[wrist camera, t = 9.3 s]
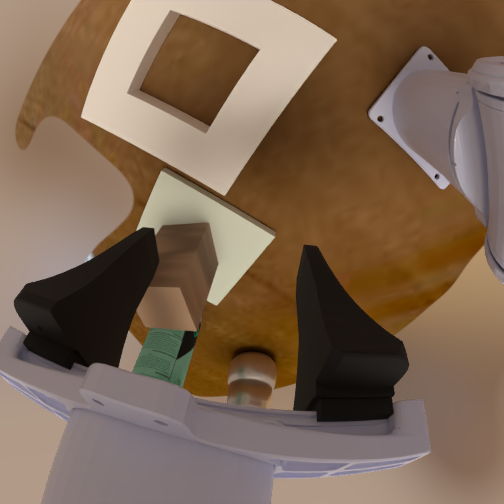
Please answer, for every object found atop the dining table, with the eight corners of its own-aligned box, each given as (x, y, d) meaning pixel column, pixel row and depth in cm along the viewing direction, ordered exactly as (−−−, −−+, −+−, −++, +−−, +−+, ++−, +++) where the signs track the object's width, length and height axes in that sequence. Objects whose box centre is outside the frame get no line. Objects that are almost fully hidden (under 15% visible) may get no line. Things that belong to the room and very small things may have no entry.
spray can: (160, 321, 35) (107, 462, 19) (160, 293, 31) (94, 454, 15) (199, 332, 35) (159, 480, 19) (204, 306, 32) (155, 478, 16)
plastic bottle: (221, 355, 38) (192, 490, 22) (255, 339, 34) (231, 496, 18) (253, 373, 40) (235, 498, 24) (288, 360, 36) (276, 501, 21)
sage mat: (275, 231, 24) (275, 236, 24) (218, 300, 31) (216, 305, 30) (165, 167, 22) (161, 170, 21) (130, 252, 28) (126, 256, 27)
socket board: (332, 42, 14) (337, 39, 13) (229, 185, 22) (224, 196, 21) (167, -32, 11) (157, -39, 10) (94, 111, 19) (80, 117, 17)
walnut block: (209, 222, 24) (179, 287, 17) (218, 263, 26) (197, 331, 20) (162, 225, 24) (122, 285, 18) (175, 264, 27) (145, 326, 21)
